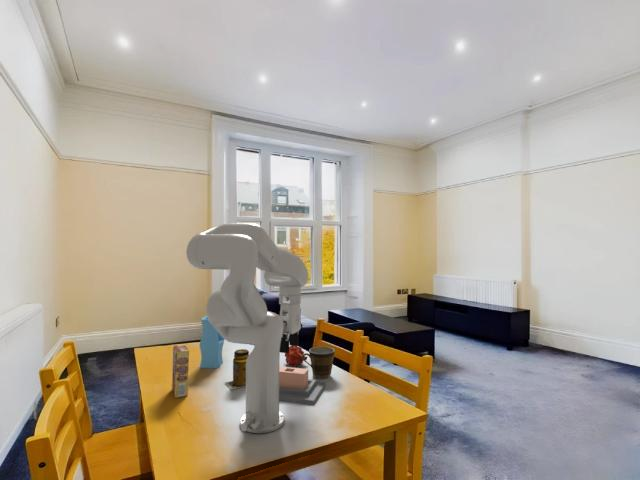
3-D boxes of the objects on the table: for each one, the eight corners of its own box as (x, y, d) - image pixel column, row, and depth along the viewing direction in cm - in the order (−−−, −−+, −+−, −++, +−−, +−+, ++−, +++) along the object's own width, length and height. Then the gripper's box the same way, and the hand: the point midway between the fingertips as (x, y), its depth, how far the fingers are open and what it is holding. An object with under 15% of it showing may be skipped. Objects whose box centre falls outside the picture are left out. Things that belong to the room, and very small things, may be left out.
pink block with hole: (270, 388, 122) (270, 370, 123) (276, 382, 127) (276, 366, 127) (304, 391, 119) (304, 374, 120) (308, 386, 124) (308, 369, 124)
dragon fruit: (290, 363, 158) (301, 375, 147) (276, 354, 154) (287, 366, 143) (301, 346, 159) (313, 358, 149) (288, 338, 156) (299, 349, 145)
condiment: (253, 385, 129) (253, 351, 129) (231, 390, 124) (231, 355, 124) (246, 378, 135) (246, 347, 135) (224, 383, 130) (224, 350, 130)
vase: (218, 368, 146) (218, 319, 147) (199, 368, 147) (199, 319, 147) (223, 361, 154) (224, 315, 155) (205, 361, 154) (206, 315, 155)
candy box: (189, 395, 119) (189, 350, 120) (175, 398, 117) (175, 352, 117) (184, 386, 127) (185, 343, 127) (171, 389, 125) (172, 345, 125)
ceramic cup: (328, 370, 144) (328, 345, 145) (338, 378, 135) (338, 352, 135) (298, 374, 140) (298, 348, 140) (306, 383, 130) (306, 356, 131)
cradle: (313, 404, 113) (313, 393, 113) (250, 396, 119) (250, 386, 119) (325, 385, 128) (325, 375, 128) (269, 379, 134) (269, 370, 134)
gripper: (291, 303, 115) (291, 356, 114) (307, 297, 131) (306, 343, 131) (270, 302, 117) (269, 354, 116) (288, 296, 133) (287, 342, 133)
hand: (289, 348), depth 123 cm, fingers open, 9 cm apart
